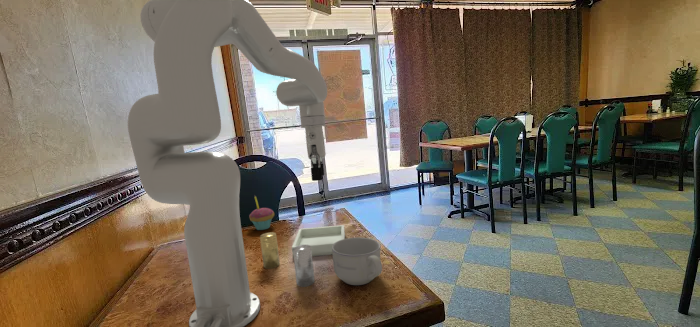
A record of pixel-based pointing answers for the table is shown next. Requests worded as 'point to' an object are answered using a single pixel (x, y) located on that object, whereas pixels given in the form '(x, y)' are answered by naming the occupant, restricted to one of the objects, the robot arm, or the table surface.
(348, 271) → the teacup
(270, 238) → the brass roller
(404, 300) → the table surface
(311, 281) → the steel roller
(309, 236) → the tray
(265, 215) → the cupcake
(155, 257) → the table surface
